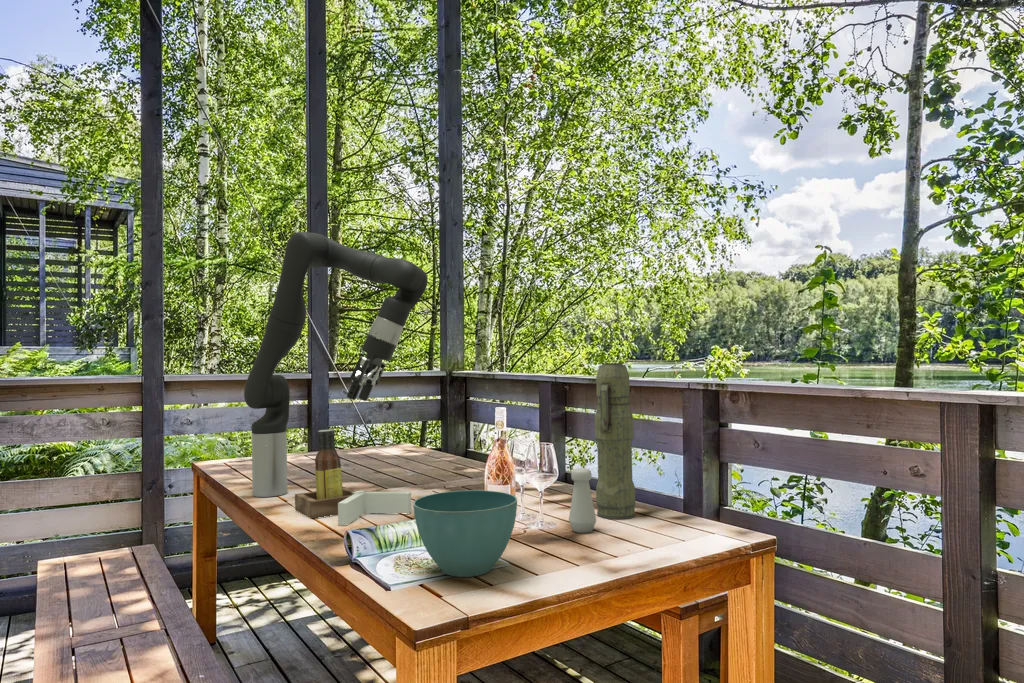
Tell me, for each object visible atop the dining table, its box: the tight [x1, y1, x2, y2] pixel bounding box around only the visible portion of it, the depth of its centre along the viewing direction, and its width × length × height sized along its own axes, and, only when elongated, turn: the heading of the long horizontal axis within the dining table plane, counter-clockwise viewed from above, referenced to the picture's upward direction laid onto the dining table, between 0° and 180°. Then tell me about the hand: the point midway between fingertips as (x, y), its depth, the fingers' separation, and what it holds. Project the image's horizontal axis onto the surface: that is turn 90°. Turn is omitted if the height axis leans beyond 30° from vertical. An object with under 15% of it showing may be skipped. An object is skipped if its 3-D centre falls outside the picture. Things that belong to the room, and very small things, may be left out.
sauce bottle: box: [314, 429, 343, 500], centre depth 168 cm, size 6×6×20 cm
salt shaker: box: [568, 467, 597, 534], centre depth 144 cm, size 6×6×13 cm
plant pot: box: [412, 489, 518, 578], centre depth 119 cm, size 18×18×12 cm
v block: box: [337, 489, 412, 526], centre depth 161 cm, size 11×18×5 cm, turn 127°
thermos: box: [594, 362, 636, 520], centre depth 157 cm, size 9×12×35 cm
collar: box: [294, 486, 356, 519], centre depth 168 cm, size 12×13×4 cm
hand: (356, 399), depth 167 cm, fingers open, 8 cm apart
